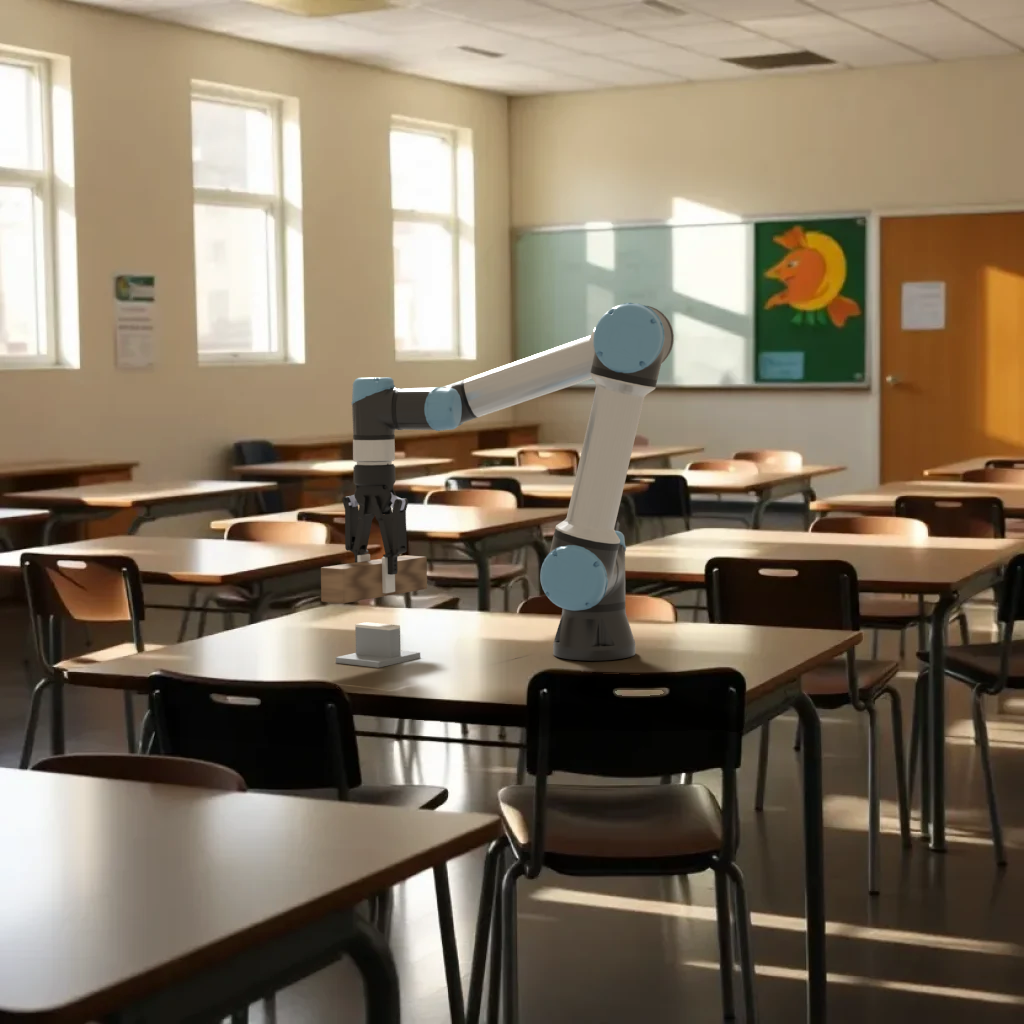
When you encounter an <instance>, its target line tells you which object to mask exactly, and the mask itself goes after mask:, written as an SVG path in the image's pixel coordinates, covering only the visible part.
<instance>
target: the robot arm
mask: <svg viewBox="0 0 1024 1024" xmlns="http://www.w3.org/2000/svg"><path fill="white" fill-rule="evenodd" d="M674 340H675V335H674V330H673V326H672V324H671V322H670V320H669V319H668V318H667V316H666V315H665V314H664V313H663V312H662V311H660V310H658V309H657V308H654V307H653V306H650V305H643V304H641V303H633V302H624V303H621V304H618V305H615V306H613V307H611V308H610V309H609V310H608V311H606V312H605V313H604V314H602V316H601V317H600V318H599V320H598V322H597V324H596V325H595V327H594V328H593V330H592V332H591V334H589V335H587V336H585V337H581V338H578V339H576V340H573V341H569V342H566V343H563V344H562V345H559V346H555V347H553V348H550V349H547V350H545V351H542V352H539V353H536V354H533V355H531V356H527V357H525V358H522V359H518V360H516V361H513V362H511V363H507V364H504V365H501V366H499V367H496V368H493V369H490V370H488V371H485V372H481V373H479V374H476V375H473V376H471V377H468V378H465V379H462V380H458V381H456V382H453V383H450V384H447V385H444V386H437V387H412V388H408V387H407V388H402V387H400V388H399V387H396V385H395V383H394V382H395V381H394V379H393V378H392V377H386V376H385V377H357V378H355V380H354V381H353V383H352V393H351V394H352V397H351V399H352V400H351V407H352V408H351V411H352V414H351V416H352V460H353V462H355V463H356V464H355V465H354V466H353V483H354V485H355V490H354V494H352V495H349V496H343V497H342V504H343V507H344V539H345V540H344V541H345V543H344V546H345V547H344V548H345V550H346V551H349V552H352V553H353V555H354V563H356V562H363V561H370V560H371V554H370V553H369V552H370V551H369V550H368V547H369V546H368V544H369V539H370V534H371V529H372V522H373V519H374V518H375V520H376V521H377V522H378V527H379V531H380V535H381V536H380V537H381V541H382V545H383V549H384V550H383V551H384V554H382V556H383V557H381V559H382V589H383V593H391V592H395V574H397V572H398V566H397V565H398V564H397V557H398V556H399V555H402V554H405V553H406V552H407V550H408V549H407V547H408V545H407V540H408V538H407V513H406V512H407V508H408V505H409V500H408V498H406V497H405V498H404V497H403V498H401V497H399V496H397V495H396V492H395V490H394V489H395V488H394V485H395V483H396V465H395V464H394V463H392V462H393V461H395V460H396V454H395V453H396V447H395V445H396V443H395V439H396V436H395V434H396V433H395V431H405V430H406V431H436V432H440V431H448V430H449V431H451V430H452V431H453V430H455V429H456V428H458V427H459V426H461V425H463V424H464V423H466V422H470V421H473V420H475V419H477V418H480V417H484V416H486V415H489V414H492V413H496V412H498V411H501V410H504V409H506V408H510V407H513V406H515V405H519V404H521V403H524V402H527V401H531V400H533V399H537V398H539V397H542V396H545V395H548V394H551V393H554V392H557V391H560V390H563V389H566V388H569V387H571V386H575V385H577V384H581V383H583V382H587V381H589V380H593V381H594V383H595V390H594V395H593V399H592V404H591V406H590V407H591V408H590V412H589V417H588V421H587V426H586V429H585V434H584V439H583V442H582V443H583V444H582V448H581V452H580V456H579V460H578V465H577V469H576V474H575V480H574V483H573V487H572V490H571V496H570V501H569V504H568V510H567V515H566V518H565V519H564V520H563V521H560V522H559V523H558V524H556V525H555V527H554V532H553V537H552V541H551V546H550V549H549V553H548V554H547V555H546V557H545V558H544V559H543V562H542V565H541V568H540V572H539V573H540V578H539V579H540V584H541V587H542V591H543V592H544V594H545V596H546V597H547V598H548V599H549V601H550V602H551V603H552V604H554V605H555V606H557V607H559V608H561V609H562V610H561V611H562V612H561V617H560V620H559V623H558V626H557V629H556V632H555V633H556V634H555V635H554V640H553V645H552V647H553V648H552V649H553V651H552V652H553V656H554V657H556V658H561V659H565V660H573V661H574V660H575V661H593V662H594V661H612V660H621V659H628V658H631V657H634V656H635V655H636V641H635V639H634V635H633V631H632V629H631V625H630V622H629V619H628V617H627V612H626V610H627V609H626V550H627V546H626V542H625V541H626V540H625V535H624V534H623V532H621V531H620V530H615V527H616V521H617V519H618V518H617V517H618V513H619V510H620V504H621V500H622V496H623V491H624V489H625V488H624V487H625V483H626V479H627V475H628V470H629V467H630V466H629V465H630V461H631V456H632V453H633V448H634V444H635V440H636V439H635V438H636V436H637V432H638V428H639V427H638V426H639V422H640V420H641V419H640V418H641V413H642V409H643V405H644V401H645V397H646V396H647V395H648V394H649V393H651V392H653V391H654V390H656V388H657V384H658V383H657V382H658V379H659V376H660V371H661V368H662V367H661V366H662V364H663V363H664V362H665V361H666V360H667V358H668V357H669V355H670V354H671V352H672V349H673V346H674Z"/></svg>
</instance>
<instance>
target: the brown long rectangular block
mask: <svg viewBox="0 0 1024 1024" xmlns="http://www.w3.org/2000/svg"><path fill="white" fill-rule="evenodd" d="M397 564H398V565H397V566H398V572H397V574H395V592H391V593H383V589H382V558H378V559H370V561H363V562H356V563H355V562H351V563H349V562H348V563H344V564H337V565H330V566H323V567H320V587H321V588H320V592H321V594H320V595H321V596H320V597H321V602H323V603H324V602H326V603H335V604H347V603H353V602H359V601H364V600H371V599H376V598H381V597H388V596H393V595H399V594H404V593H409V592H410V593H411V592H417V591H423V590H427V589H428V571H427V570H428V568H427V567H428V557H427V556H422V555H421V556H420V555H419V556H418V555H406V554H405V555H400V556H399V555H398V557H397Z"/></svg>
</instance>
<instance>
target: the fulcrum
mask: <svg viewBox="0 0 1024 1024" xmlns="http://www.w3.org/2000/svg"><path fill="white" fill-rule="evenodd" d="M354 626H355V627H354V628H355V652H354V653H349V654H345V655H339V656H335V663H336V664H344V665H350V666H351V665H352V666H360V667H369V668H370V667H371V668H378V669H379V668H383V667H387V666H391V665H395V664H399V663H400V664H401V663H405V662H409V661H412V660H413V661H414V660H418V659H420V658H421V652H420V651H419V652H418V651H409V650H403V649H402V650H401V625H399V624H388V623H377V622H368V621H367V622H366V621H365V622H361V623H356V624H355V625H354Z"/></svg>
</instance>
